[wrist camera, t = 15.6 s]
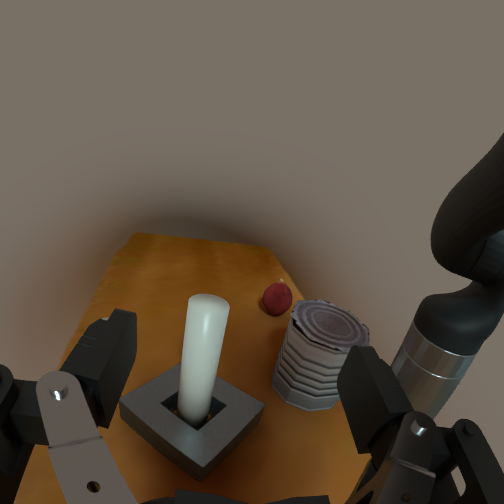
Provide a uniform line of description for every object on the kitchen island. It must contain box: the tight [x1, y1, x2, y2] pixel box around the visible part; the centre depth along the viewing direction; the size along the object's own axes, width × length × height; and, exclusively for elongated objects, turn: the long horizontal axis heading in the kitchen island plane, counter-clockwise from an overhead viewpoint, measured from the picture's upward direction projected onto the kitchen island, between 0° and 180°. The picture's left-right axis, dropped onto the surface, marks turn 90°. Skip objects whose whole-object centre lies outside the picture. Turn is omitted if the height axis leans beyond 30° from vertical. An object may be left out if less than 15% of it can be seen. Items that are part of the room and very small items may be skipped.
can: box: [272, 300, 369, 412], centre depth 41 cm, size 11×11×12 cm
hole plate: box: [119, 363, 266, 481], centre depth 31 cm, size 12×12×4 cm
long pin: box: [177, 294, 230, 431], centre depth 29 cm, size 4×4×17 cm
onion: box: [263, 279, 292, 315], centre depth 60 cm, size 6×6×8 cm
